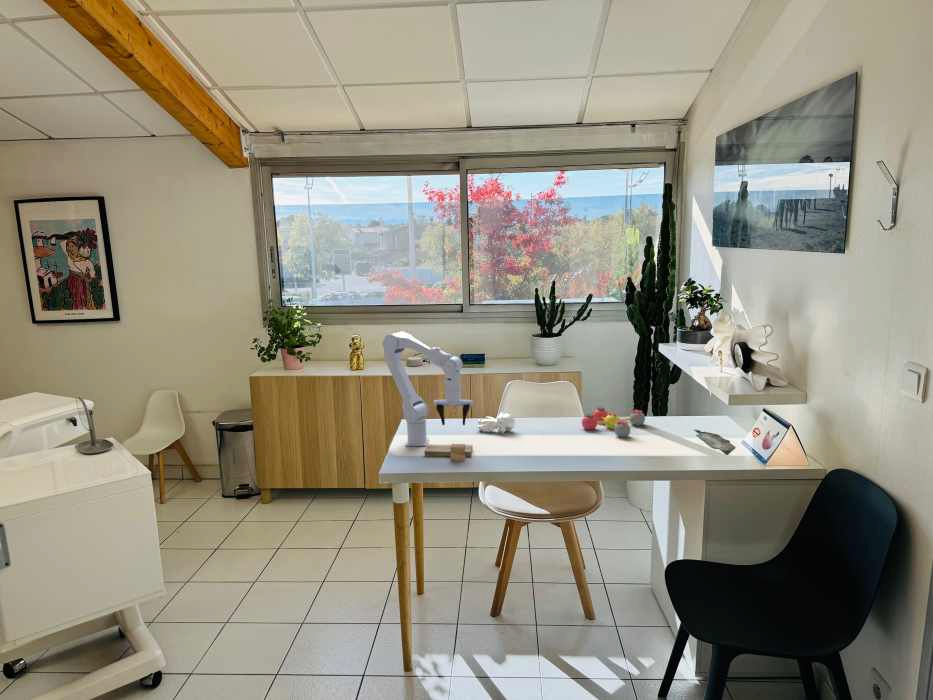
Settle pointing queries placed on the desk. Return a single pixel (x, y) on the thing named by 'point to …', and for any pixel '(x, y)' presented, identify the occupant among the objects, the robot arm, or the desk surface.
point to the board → (444, 450)
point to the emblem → (715, 441)
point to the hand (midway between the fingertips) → (453, 424)
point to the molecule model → (612, 421)
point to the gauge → (458, 452)
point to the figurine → (497, 423)
